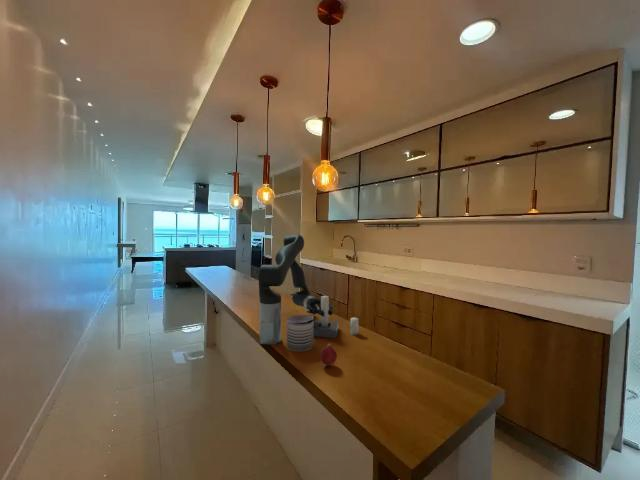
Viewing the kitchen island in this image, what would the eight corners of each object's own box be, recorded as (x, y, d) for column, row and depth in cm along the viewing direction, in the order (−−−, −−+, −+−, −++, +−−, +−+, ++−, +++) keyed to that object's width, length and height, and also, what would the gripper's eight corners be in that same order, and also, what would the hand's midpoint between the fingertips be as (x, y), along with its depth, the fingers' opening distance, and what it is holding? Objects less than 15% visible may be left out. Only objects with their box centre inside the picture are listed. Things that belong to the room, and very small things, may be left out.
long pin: (327, 333, 130) (328, 297, 129) (320, 333, 130) (320, 297, 130) (328, 331, 133) (329, 296, 133) (321, 330, 134) (321, 295, 133)
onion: (322, 370, 96) (323, 348, 95) (318, 363, 101) (318, 341, 101) (338, 368, 97) (339, 346, 97) (333, 361, 103) (333, 340, 102)
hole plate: (335, 337, 125) (335, 330, 125) (309, 336, 127) (309, 328, 127) (338, 328, 137) (338, 321, 136) (314, 326, 139) (314, 320, 138)
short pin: (358, 335, 128) (358, 320, 128) (350, 334, 129) (350, 319, 129) (358, 332, 132) (358, 317, 132) (350, 331, 132) (350, 317, 132)
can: (301, 354, 108) (301, 324, 108) (280, 346, 115) (280, 318, 115) (319, 344, 117) (319, 316, 117) (298, 338, 124) (299, 311, 124)
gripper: (300, 298, 141) (313, 307, 126) (325, 296, 147) (340, 304, 132) (300, 313, 141) (313, 323, 126) (324, 309, 147) (340, 319, 132)
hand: (327, 313), depth 129 cm, fingers closed on long pin, 3 cm apart
